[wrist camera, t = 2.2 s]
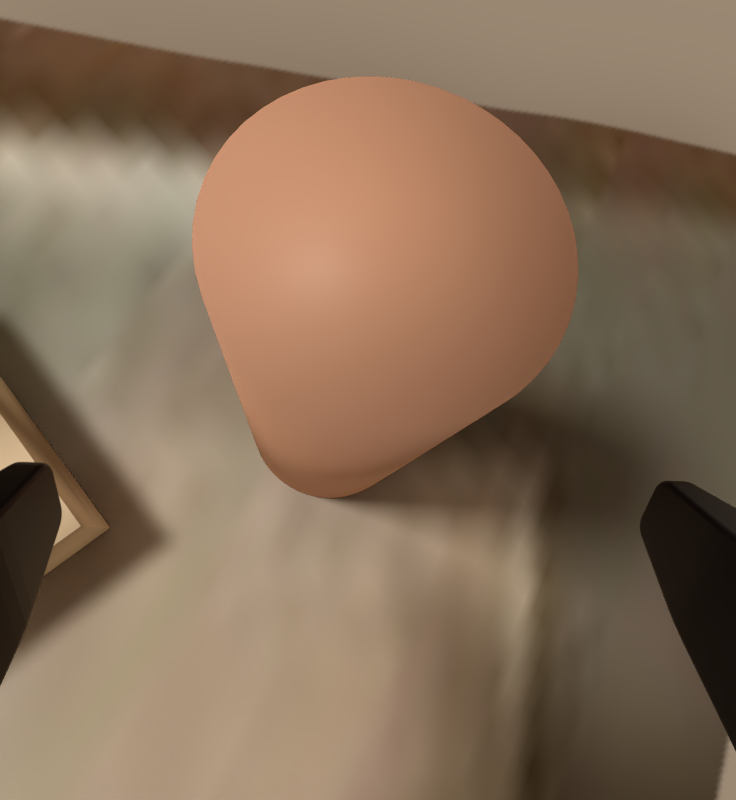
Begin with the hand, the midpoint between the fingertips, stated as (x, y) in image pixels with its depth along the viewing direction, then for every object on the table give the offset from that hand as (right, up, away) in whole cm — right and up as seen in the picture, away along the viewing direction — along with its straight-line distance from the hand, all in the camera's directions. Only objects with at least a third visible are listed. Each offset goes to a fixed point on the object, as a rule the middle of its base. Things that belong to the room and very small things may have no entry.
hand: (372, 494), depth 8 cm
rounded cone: (-1, +1, +11) cm, 11 cm away
